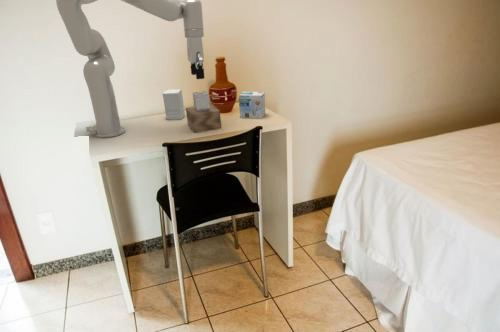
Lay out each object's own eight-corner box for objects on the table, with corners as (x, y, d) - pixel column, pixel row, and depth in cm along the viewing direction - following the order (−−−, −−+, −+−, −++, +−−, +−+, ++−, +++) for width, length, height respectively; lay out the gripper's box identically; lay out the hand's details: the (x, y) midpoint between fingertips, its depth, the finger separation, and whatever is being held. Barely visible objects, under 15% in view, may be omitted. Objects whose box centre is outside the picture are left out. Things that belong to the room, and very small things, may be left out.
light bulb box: (239, 117, 182) (238, 94, 178) (244, 113, 188) (242, 91, 183) (262, 118, 179) (261, 95, 175) (265, 114, 185) (265, 91, 180)
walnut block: (193, 133, 166) (191, 114, 163) (187, 125, 177) (185, 107, 173) (221, 128, 170) (219, 110, 167) (213, 121, 180) (212, 104, 177)
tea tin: (197, 112, 167) (195, 95, 164) (194, 108, 171) (192, 92, 169) (210, 110, 168) (208, 93, 165) (207, 106, 173) (205, 91, 170)
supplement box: (185, 115, 191) (182, 88, 186) (181, 119, 184) (178, 92, 179) (170, 115, 192) (166, 89, 187) (166, 120, 185) (162, 93, 180)
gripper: (180, 32, 164) (184, 73, 171) (189, 35, 149) (193, 81, 156) (198, 30, 166) (201, 72, 173) (208, 34, 151) (211, 79, 158)
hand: (197, 76), depth 164 cm, fingers open, 9 cm apart
